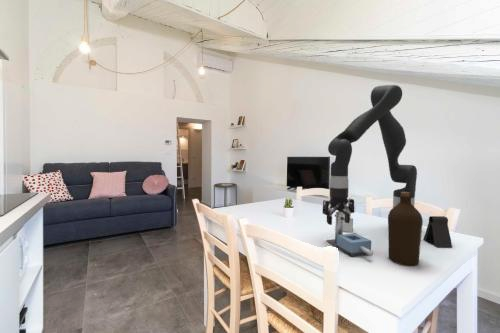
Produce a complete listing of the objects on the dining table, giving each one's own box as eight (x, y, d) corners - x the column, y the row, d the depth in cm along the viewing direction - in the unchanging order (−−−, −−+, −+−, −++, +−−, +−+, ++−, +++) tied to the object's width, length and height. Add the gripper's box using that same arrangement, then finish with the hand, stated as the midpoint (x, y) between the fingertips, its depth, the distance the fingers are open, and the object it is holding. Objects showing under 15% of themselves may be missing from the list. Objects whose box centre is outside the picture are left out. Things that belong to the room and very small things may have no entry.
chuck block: (354, 246, 104) (355, 233, 103) (381, 259, 90) (381, 245, 90) (336, 248, 101) (336, 235, 101) (360, 262, 88) (360, 247, 87)
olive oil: (392, 265, 86) (394, 194, 84) (382, 253, 96) (384, 189, 95) (426, 268, 84) (429, 195, 82) (413, 255, 94) (415, 190, 93)
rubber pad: (339, 239, 111) (339, 238, 111) (350, 245, 104) (350, 244, 104) (326, 241, 109) (326, 240, 109) (336, 247, 102) (336, 245, 102)
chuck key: (345, 244, 104) (346, 213, 103) (339, 244, 103) (340, 214, 103) (337, 240, 109) (339, 211, 108) (332, 240, 108) (333, 211, 107)
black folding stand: (423, 240, 111) (424, 213, 110) (436, 240, 111) (438, 214, 110) (437, 247, 102) (438, 219, 101) (452, 248, 102) (453, 219, 101)
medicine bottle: (352, 232, 122) (353, 208, 121) (337, 231, 123) (338, 207, 123) (350, 227, 129) (350, 205, 128) (335, 227, 130) (336, 204, 130)
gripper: (329, 188, 100) (328, 227, 101) (359, 186, 104) (358, 224, 105) (319, 185, 107) (319, 222, 108) (347, 184, 111) (346, 219, 112)
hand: (338, 223), depth 106 cm, fingers open, 8 cm apart
